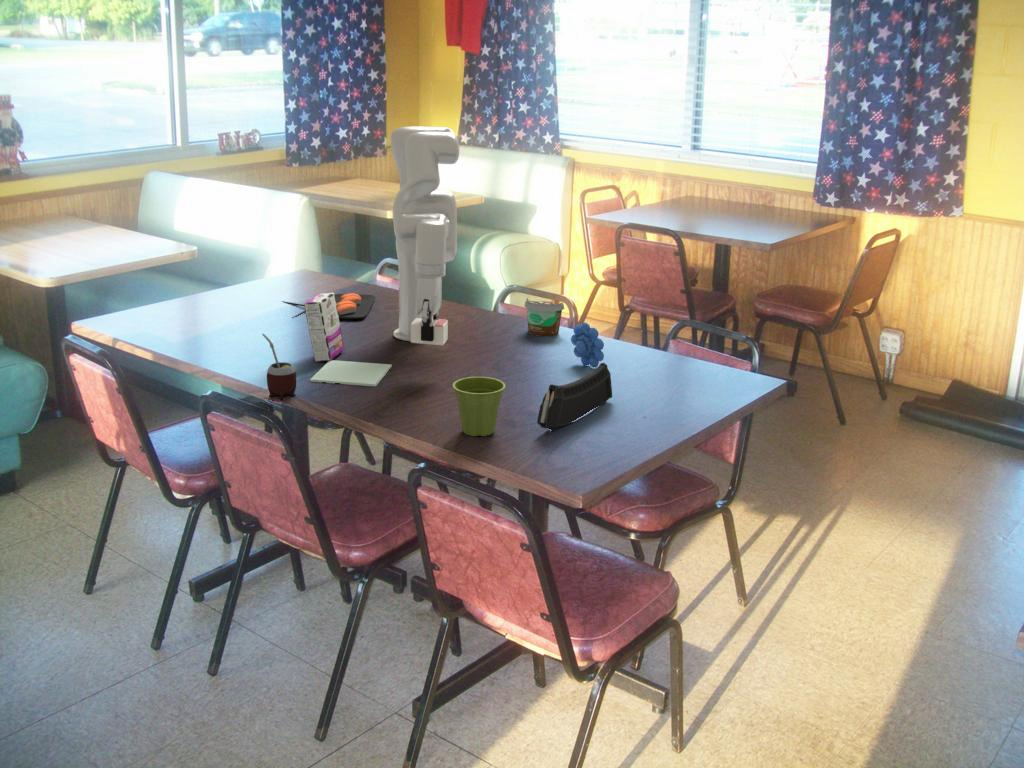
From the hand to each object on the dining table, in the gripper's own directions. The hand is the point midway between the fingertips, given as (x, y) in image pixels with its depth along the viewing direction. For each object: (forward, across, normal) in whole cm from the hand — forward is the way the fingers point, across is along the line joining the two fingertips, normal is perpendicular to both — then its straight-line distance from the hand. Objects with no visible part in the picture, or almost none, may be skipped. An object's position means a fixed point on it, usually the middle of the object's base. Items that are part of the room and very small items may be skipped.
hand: (429, 336), depth 282 cm
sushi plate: (+13, -59, -47) cm, 76 cm away
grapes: (+11, -17, +39) cm, 44 cm away
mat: (+11, +4, -20) cm, 23 cm away
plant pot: (+10, +38, +19) cm, 44 cm away
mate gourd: (+10, +25, -32) cm, 42 cm away
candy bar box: (+11, -9, -30) cm, 33 cm away
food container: (+12, -46, +24) cm, 53 cm away
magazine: (+10, +24, +40) cm, 48 cm away
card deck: (+1, 0, 0) cm, 1 cm away
